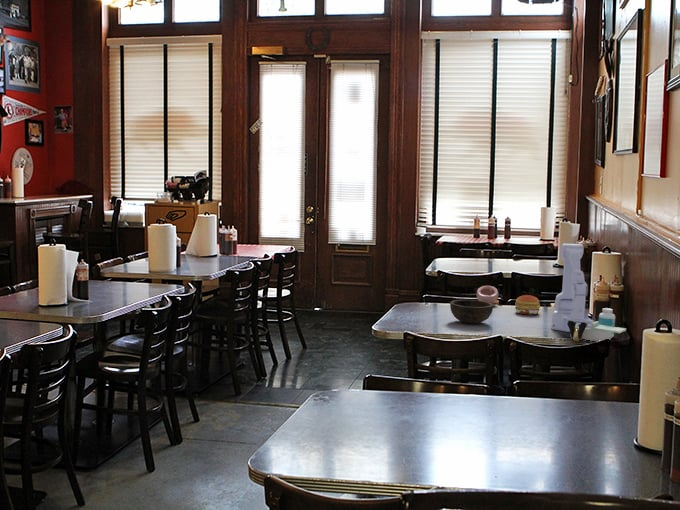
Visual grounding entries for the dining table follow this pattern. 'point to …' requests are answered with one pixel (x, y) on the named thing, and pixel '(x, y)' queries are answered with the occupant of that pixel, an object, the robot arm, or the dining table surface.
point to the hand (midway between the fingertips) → (576, 337)
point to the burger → (527, 304)
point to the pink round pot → (487, 294)
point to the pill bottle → (607, 318)
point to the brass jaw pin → (576, 335)
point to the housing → (594, 334)
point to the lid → (606, 328)
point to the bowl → (471, 310)
